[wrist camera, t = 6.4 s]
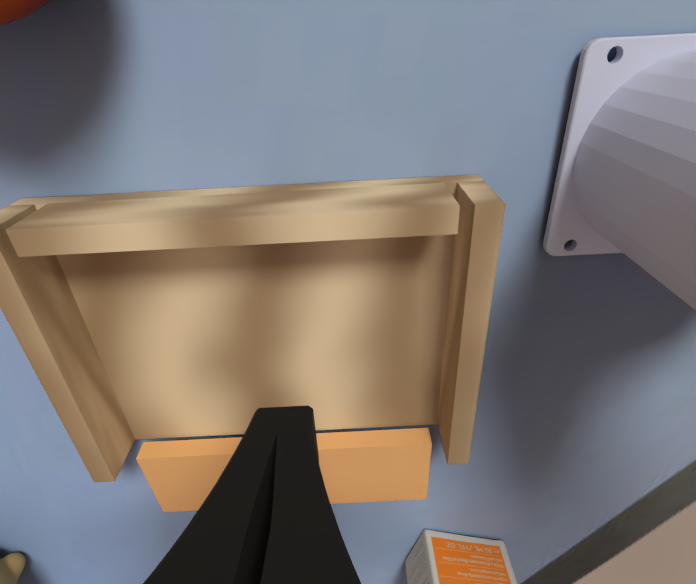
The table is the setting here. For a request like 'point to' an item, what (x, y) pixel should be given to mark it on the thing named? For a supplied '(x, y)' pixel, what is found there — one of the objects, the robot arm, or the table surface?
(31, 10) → the fruit
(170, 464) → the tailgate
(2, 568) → the tan toy animal
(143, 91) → the table surface
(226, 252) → the tray
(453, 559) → the skincare box
